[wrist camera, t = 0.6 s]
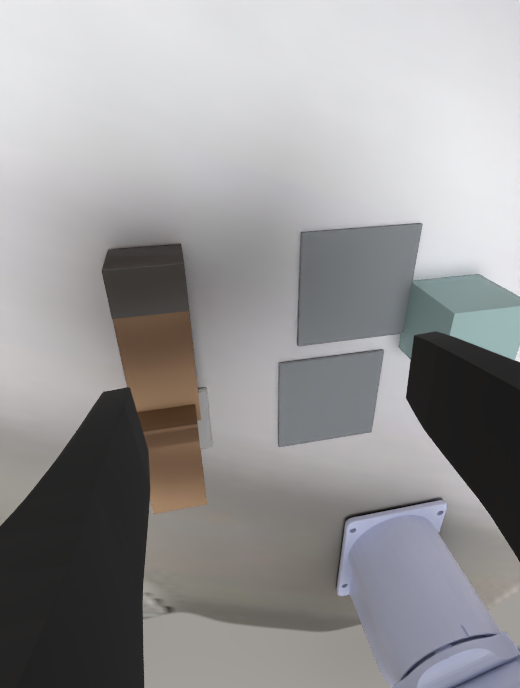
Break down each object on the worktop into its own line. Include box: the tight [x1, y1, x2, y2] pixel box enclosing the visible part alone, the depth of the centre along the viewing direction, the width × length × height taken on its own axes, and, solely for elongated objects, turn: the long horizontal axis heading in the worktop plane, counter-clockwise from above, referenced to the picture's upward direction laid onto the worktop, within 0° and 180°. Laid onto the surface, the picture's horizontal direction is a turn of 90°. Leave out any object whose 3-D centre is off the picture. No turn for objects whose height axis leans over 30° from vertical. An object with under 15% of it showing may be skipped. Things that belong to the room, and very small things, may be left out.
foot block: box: [399, 274, 520, 360], centre depth 22 cm, size 4×4×4 cm
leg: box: [102, 244, 207, 514], centre depth 19 cm, size 12×3×4 cm, turn 1°
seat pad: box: [297, 223, 422, 346], centre depth 21 cm, size 6×6×1 cm
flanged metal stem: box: [197, 388, 212, 449], centre depth 22 cm, size 4×4×3 cm
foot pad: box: [278, 350, 384, 447], centre depth 25 cm, size 6×6×1 cm
